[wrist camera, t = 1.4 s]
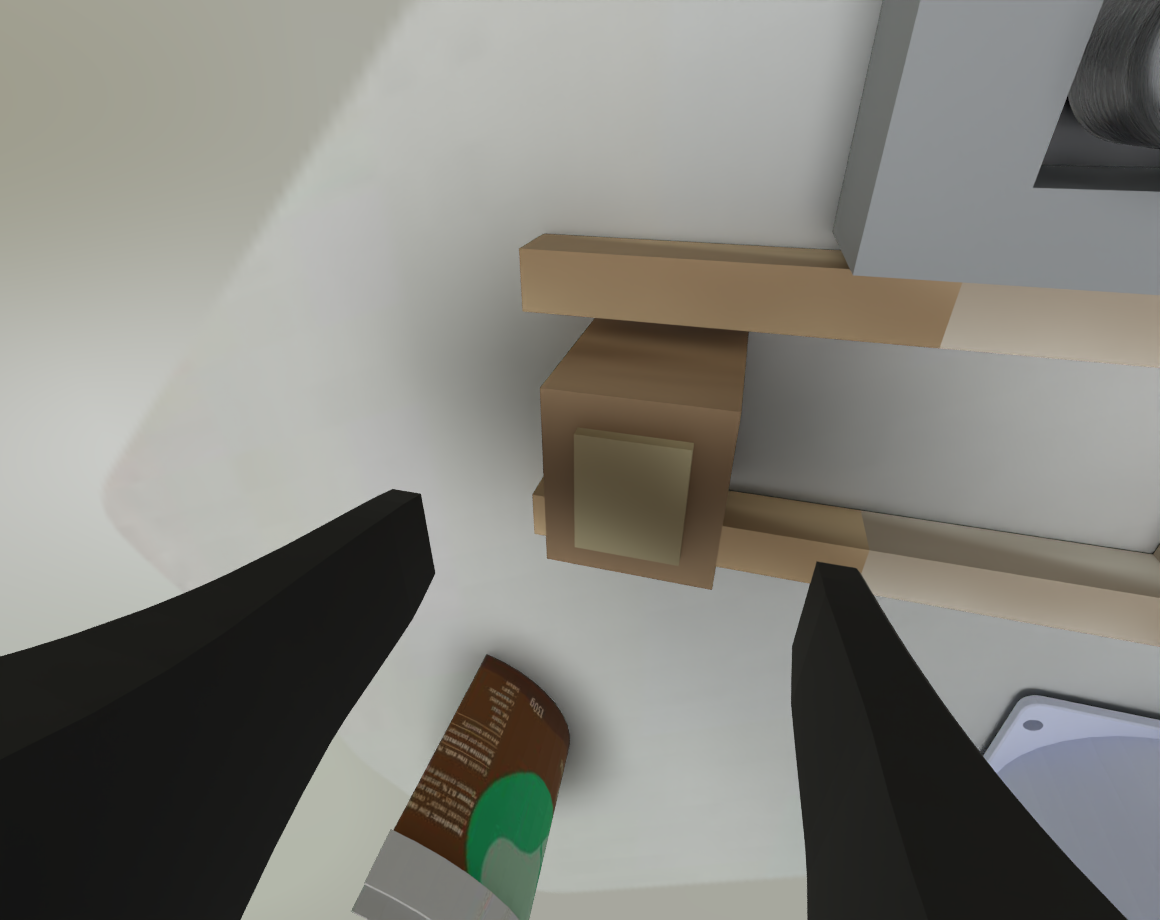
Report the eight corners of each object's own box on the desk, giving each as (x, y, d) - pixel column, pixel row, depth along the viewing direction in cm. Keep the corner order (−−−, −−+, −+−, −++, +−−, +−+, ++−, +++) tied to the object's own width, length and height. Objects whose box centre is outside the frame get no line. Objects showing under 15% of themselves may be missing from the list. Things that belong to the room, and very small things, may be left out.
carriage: (725, 474, 17) (710, 599, 13) (596, 455, 18) (543, 566, 14) (748, 325, 15) (740, 419, 11) (599, 312, 16) (534, 394, 12)
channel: (1189, 606, 16) (1250, 680, 14) (552, 500, 20) (528, 546, 18) (1443, 284, 11) (1590, 324, 9) (543, 233, 15) (509, 254, 13)
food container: (560, 818, 31) (484, 1078, 23) (454, 772, 31) (343, 1009, 23) (629, 690, 24) (555, 1001, 16) (492, 633, 24) (351, 904, 16)
